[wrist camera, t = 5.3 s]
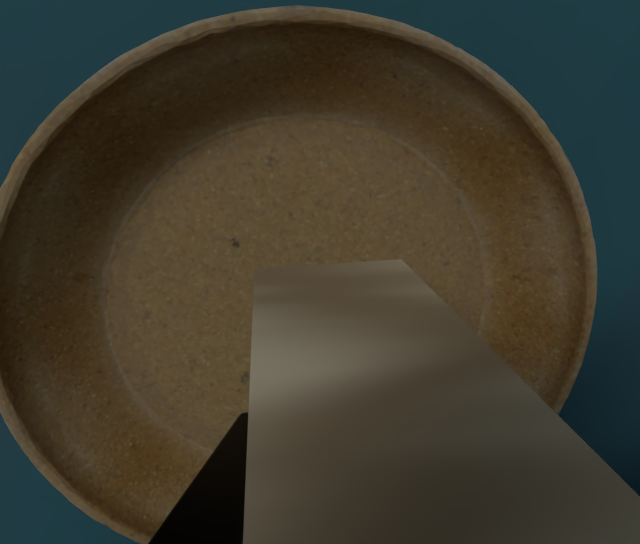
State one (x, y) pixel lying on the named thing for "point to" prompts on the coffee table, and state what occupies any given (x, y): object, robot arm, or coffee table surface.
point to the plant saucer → (263, 232)
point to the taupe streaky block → (405, 425)
